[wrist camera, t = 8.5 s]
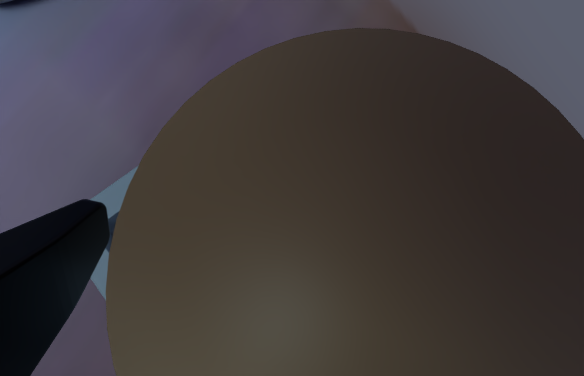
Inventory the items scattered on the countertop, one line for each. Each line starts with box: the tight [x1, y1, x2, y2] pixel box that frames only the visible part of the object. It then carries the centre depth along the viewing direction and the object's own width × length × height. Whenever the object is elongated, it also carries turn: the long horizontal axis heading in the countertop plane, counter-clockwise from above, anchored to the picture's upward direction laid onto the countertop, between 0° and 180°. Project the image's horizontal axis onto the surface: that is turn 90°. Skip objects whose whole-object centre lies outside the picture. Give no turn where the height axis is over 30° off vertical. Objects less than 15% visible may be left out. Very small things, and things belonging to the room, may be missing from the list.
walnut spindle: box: [106, 28, 584, 376], centre depth 9 cm, size 4×4×12 cm
